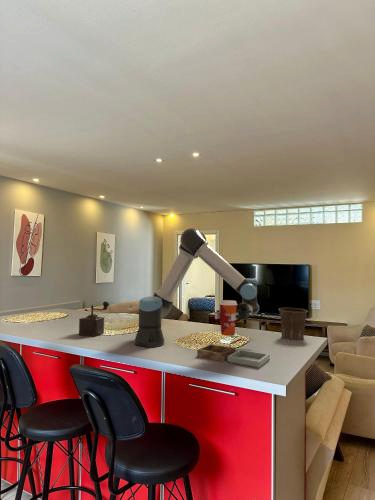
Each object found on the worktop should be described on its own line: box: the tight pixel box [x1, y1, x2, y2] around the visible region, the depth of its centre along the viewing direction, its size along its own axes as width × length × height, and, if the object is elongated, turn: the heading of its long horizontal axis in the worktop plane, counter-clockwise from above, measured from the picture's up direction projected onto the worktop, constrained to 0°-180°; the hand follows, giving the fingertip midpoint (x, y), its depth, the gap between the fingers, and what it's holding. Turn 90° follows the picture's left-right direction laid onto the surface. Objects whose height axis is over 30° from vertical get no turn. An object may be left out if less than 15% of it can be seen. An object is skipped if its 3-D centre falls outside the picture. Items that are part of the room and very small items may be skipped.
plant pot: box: [278, 307, 309, 341], centre depth 198 cm, size 16×16×16 cm
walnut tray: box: [196, 343, 236, 362], centre depth 156 cm, size 13×13×3 cm
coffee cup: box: [219, 299, 238, 337], centre depth 154 cm, size 8×8×15 cm
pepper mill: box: [78, 301, 110, 338], centre depth 197 cm, size 16×11×18 cm
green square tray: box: [227, 349, 271, 369], centre depth 148 cm, size 14×14×2 cm
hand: (223, 316), depth 150 cm, fingers closed on coffee cup, 7 cm apart
